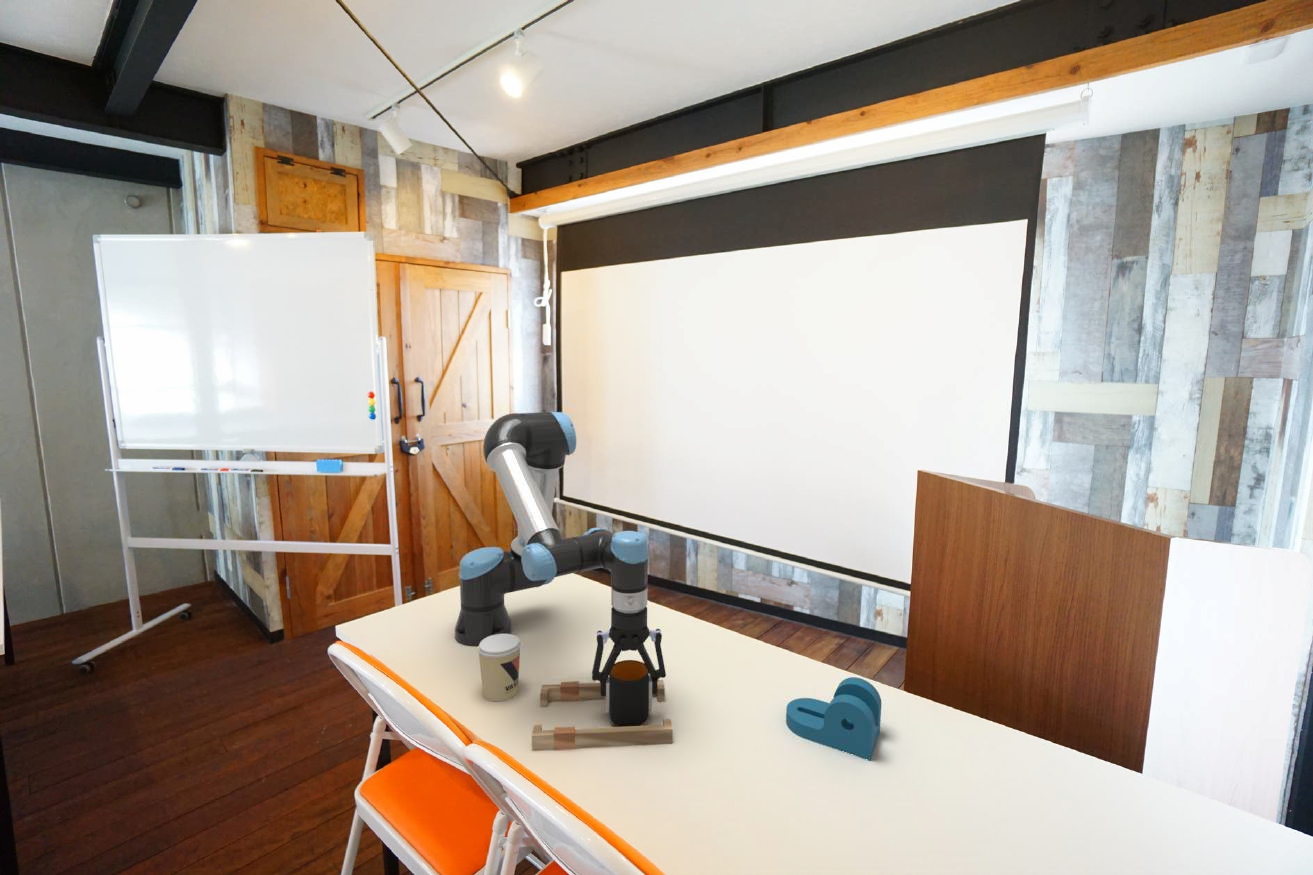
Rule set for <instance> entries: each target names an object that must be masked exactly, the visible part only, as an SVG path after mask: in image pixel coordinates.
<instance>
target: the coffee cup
mask: <svg viewBox="0 0 1313 875" xmlns="http://www.w3.org/2000/svg"><path fill="white" fill-rule="evenodd" d="M521 647H522V646H521V641H520V639H519V637H518V636H516V635H515V634H511V633H510V634H496V635H492V636H489V637H486V638H485V639H483V640H482V641H481V642H480V644H479V645H478V647H477V652H478V657H479V658H478V659H479V668H480V669H479V670H480V679H481V688H482V695H483V698H485V699H486V700H487V701H490V702H503V701H506V700H509V699H511V698H513V697H515V696H516V694H518V688H519V677H520V676H519V675H520V674H519V673H520V657H521V656H520V654H521V652H520V651H521Z"/></svg>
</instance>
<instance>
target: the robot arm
mask: <svg viewBox="0 0 1313 875" xmlns="http://www.w3.org/2000/svg"><path fill="white" fill-rule="evenodd" d="M576 434H577V433H576V430H575V426H574V423H573V421H572V419H571V417H570V416H569V415H568V414H566V413H564V412H562V411H559V412H558V411H556V412H555V411H551V410H550V411H545V412H541V411H540V412H519V413H518V412H515V413H514V412H513V413H508V414H504V415H502V416H500V417H498V419H495V421H494V422H493V423H492V424H491V425H490V427H489V428H488V430H487V431H486V433H485V436H484V440H483V446H482V452H483V457H484V460H485V463H486V464H487V467H488V468H489V470H491V471H492V472H494V473H495V475H496V477H497V479H498V482H499V483H500V487H501V489H502V491H503V493H504V496H505V498H506V501H507V503H508V504H509V507H510V510H511V512H512V514H513V517H514V519H515V521H516V525H517V526H518V530H517V531H518V532H517V536H516V537H515V538H514V539H513V540H512V541H511V543H510V544H511V545H510V550H505V551H504V550H503V549H502V548H501V547H498V546H490V547H488V546H486V547H485V546H484V547H481V548H478V549H474V550H471V551H470V552H468V553H466V554H465V555H464V556H462V558H461V560H460V561H459V573H458V577H459V592H460V611H459V614H458V618H457V621H456V622H455V623H456V624H455V627H454V638H455V640H456V641H457V642H458V643H460V644H462V645H467V646H472V647H473V646H479V644H480V642H481V641H482V640H483V639H485V638H486V637H489V636H492V635H496V634H511V633H512V621H511V618H510V615H509V613H508V610H507V607H506V604H505V595H506V594H509V593H515V592H519V591H524V590H528V589H534V588H539V587H542V586H545V585H548V584H550V583H552V582H553V580H555V578H558V577H561V576H566V575H570V574H575V573H582V572H586V571H590V570H591V571H592V570H596V569H600V568H602V569H605V570H606V571H608V572H610V574H611V576H610V578H611V579H610V580H611V581H610V582H611V586H610V587H611V592H610V594H611V598H610V599H611V600H610V601H611V602H610V604H611V606H612V607H611V609H610V610H611V612H610V614H611V617H610V619H611V620H610V622H611V623H610V625H611V626H610V628H609V630H607V631H604V632H603V631H602V630H598V631H597V632H596V644H597V645H596V651H595V656H594V661H593V665H592V672H591V679H592V681H598V682H599V683H601V696H606V699H605V713H606V714H609V670H612V668H613V666H614V664H615V663H617V659H619V658H618V657H619V656H620V654H621V652H627V651H634V652H635V651H636V652H638V654H639V655H640V657H641V659H642V662H643V663H644V664H645V666H646V668H649V712H652V711H653V696H652V694H656V693H657V682H658V680H660V679H661V678H662V679H663V678H664V679H665V678H666V676H667V674H666V673H667V672H666V668H665V662H664V657H663V656H664V655H663V651H662V647H661V644H662V638H663V635H662V631H661V629H660V628H656V629H655V630H653V629H649V626H648V606H647V605H648V582H649V581H648V580H649V579H648V575H649V574H648V572H649V571H648V570H649V567H648V566H649V554H650V553H649V549H648V548H649V547H648V537H647V535H646V534H644V533H642V532H640V531H634V530H625V531H624V530H623V531H618V532H615V533H614V532H613V531H610V530H608V529H606V528H602V527H592V528H590V529H589V530H587V531H586V532H584V533H583V535H578V536H571V537H563V535H562V533H561V532H560V530H559V527H558V525H557V523H556V522H555V519H554V517H553V508H554V501H555V494H556V486H557V479H558V472H559V470H560V469H561V468H563V467H564V466H565V462H566V457H567V456H570V455H573V453H575V451H576V449H577V435H576ZM649 637H650V639H651V642H653V643H654V648H655V654H656V659H657V664H658V669H656V667H655V665H654V664H653V662H652V659H651V657H650V655H649V653H648V651H647V649H646V646H645V644H644V643H645V642H646V641H647V639H648V638H649ZM609 638H610V640H611V641H612V642H613V646H612V649H611V651H610V653H609V655H608V658H606V659H607V660H606V662H605V663H604V666H603V669H602V670H601V671H600V668H601V664H602V658H603V654H604V647H605V646H604V644H605V645H606V644H607V641H608V639H609Z"/></svg>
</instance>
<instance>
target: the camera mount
mask: <svg viewBox="0 0 1313 875" xmlns="http://www.w3.org/2000/svg"><path fill="white" fill-rule="evenodd" d="M785 710H786V711H785V712H786V714H785V724H786V727H787V728H788V729H789V730H790V731H791V733H793V734H794V735H796V736H798V737H800V738H801V739H805V740H807V741H811V742H814V743H816V744H819V745H821V746H824V747H828V748H831V749H834V750H836V749H837V750H838V751H839V752H842V751H844V752H843V753H845V752H847V753H846V754H848V753H849V755H851V754H853V755H852V756H854V755H855V756H854V757H857V756H858V758H861V759H863V760H866V759H867V761H868V762H869V761H871V760H872V757H873V753H874V750H875V748H876V744H877V741H878V738H879V735H880V733H879V732H881V722H882V720H881V717H882V698H881V695H880V693H879V692H878V690H877V689H876V687H875V686H874V685H873V684H871V682H869V681H867V680H865V679H864V678H861V677H856V676H855V677H854V676H853V677H850V676H849V677H847V678H845V679H843V680H842V681H841V682H840V683H839V684H838V686H837V688H836V690H835V692H834V694H833V698H832V699H831V700H830V702H826V701H824V700H820V699H818V698H817V699H816V698H811V697H801V698H800V697H799V698H795V699H793V700H790V701H789V702H788V703H787V705H786V709H785Z"/></svg>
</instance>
